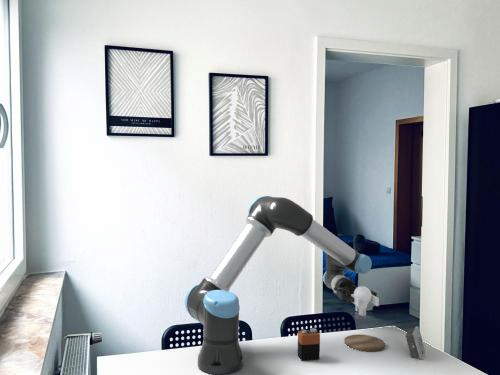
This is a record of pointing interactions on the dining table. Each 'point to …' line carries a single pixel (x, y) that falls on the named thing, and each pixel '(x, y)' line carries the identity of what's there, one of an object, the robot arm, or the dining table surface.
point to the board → (365, 343)
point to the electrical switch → (415, 343)
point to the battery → (308, 345)
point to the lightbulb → (363, 298)
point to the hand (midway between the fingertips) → (368, 302)
